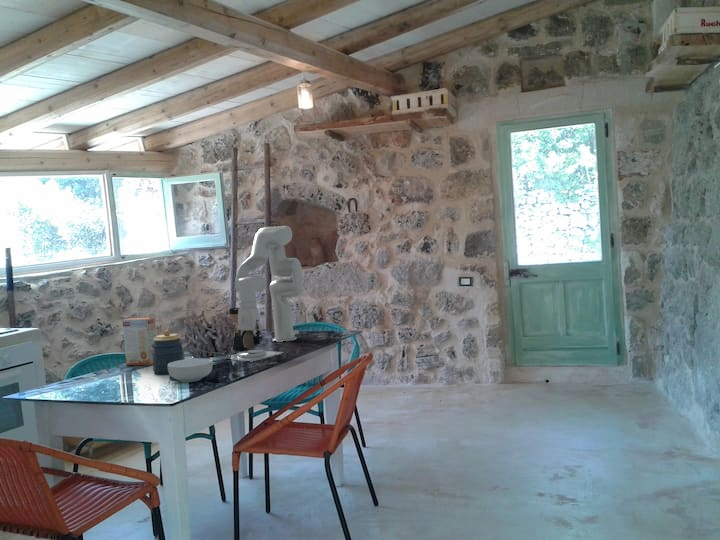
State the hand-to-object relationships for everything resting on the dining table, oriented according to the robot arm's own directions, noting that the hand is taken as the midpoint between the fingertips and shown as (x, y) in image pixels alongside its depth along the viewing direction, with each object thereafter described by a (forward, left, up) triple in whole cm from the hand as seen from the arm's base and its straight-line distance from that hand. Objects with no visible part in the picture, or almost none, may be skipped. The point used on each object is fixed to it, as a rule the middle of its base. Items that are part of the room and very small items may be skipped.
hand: (250, 343), depth 292 cm
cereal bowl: (+45, +12, -6) cm, 47 cm away
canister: (+37, -11, -6) cm, 39 cm away
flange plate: (0, 0, -6) cm, 6 cm away
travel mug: (-13, -21, -6) cm, 25 cm away
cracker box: (+30, -39, -6) cm, 50 cm away
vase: (0, 0, -2) cm, 2 cm away
